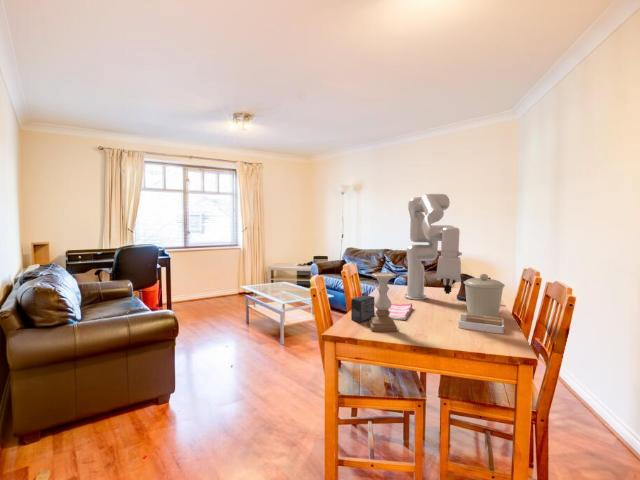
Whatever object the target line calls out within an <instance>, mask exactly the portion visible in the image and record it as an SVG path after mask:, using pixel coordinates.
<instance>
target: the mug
mask: <svg viewBox="0 0 640 480" xmlns="http://www.w3.org/2000/svg"><path fill="white" fill-rule="evenodd" d="M471 278H476V277H475V276H473V275H470V274H468V273H462V272H461V276H460V279H461V281H460V286H459V290H458V293H457V294H456V300H458V301H459V302H466V291H465V284H464V281H466V280H468V279H471ZM488 279H492V278H491V277H489V276H488Z"/></svg>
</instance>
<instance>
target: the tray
mask: <svg viewBox="0 0 640 480" xmlns="http://www.w3.org/2000/svg"><path fill="white" fill-rule="evenodd" d="M466 317H467V313H466V314H465V313H461V314H460V320H458V324H457V325H458V329H466V330H471V331H479V332H485V331H486V332H487V333H493V334H500V333H501V335H504V334H505V322H504V320H505V319H504V318H502V326H496V325H489V324H481V323H473V322H466Z"/></svg>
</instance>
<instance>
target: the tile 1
mask: <svg viewBox="0 0 640 480" xmlns="http://www.w3.org/2000/svg"><path fill="white" fill-rule="evenodd" d="M466 314H467V317H466V321H465V322H473V323H481V324H484V315H477V314H469V313H468V312H467V313H466Z"/></svg>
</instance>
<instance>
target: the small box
mask: <svg viewBox="0 0 640 480" xmlns="http://www.w3.org/2000/svg"><path fill="white" fill-rule="evenodd" d="M350 302H351V304H350V305H351V310H350V311H351V317H350V319H351V321H353V322H357V323H360V324H361V323H364V322H369V320H371V317H375V315H374V311H375V296H372V295H371V296H370V295H365V294H364V295H360V296H355V297H353V298H350Z"/></svg>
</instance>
